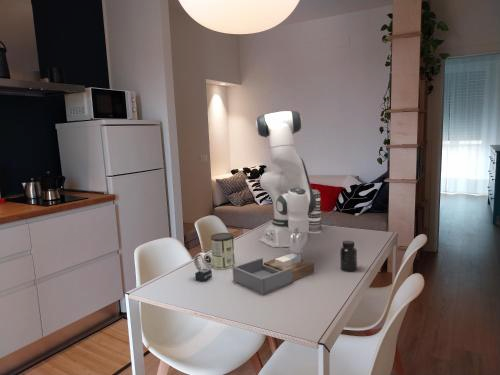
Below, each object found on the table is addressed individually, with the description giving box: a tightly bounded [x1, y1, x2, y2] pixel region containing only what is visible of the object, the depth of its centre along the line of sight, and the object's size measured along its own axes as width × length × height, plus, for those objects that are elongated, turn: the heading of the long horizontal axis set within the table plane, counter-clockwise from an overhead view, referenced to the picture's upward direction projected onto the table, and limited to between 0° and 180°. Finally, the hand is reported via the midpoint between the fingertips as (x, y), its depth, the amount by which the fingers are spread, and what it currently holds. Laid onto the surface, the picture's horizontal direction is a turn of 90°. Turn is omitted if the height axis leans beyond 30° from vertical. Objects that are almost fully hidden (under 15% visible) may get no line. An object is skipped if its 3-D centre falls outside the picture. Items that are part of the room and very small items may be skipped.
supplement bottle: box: [339, 240, 358, 273], centre depth 156 cm, size 7×7×12 cm
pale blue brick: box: [283, 252, 302, 264], centre depth 157 cm, size 5×5×2 cm
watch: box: [193, 252, 213, 283], centre depth 152 cm, size 6×8×11 cm
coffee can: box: [210, 232, 236, 270], centre depth 167 cm, size 10×10×14 cm
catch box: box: [232, 257, 294, 296], centre depth 147 cm, size 18×16×6 cm
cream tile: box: [274, 255, 292, 268], centre depth 154 cm, size 5×5×2 cm
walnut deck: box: [263, 255, 315, 282], centre depth 156 cm, size 16×14×4 cm
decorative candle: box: [308, 188, 322, 234], centre depth 216 cm, size 9×9×25 cm
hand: (299, 257), depth 160 cm, fingers closed
